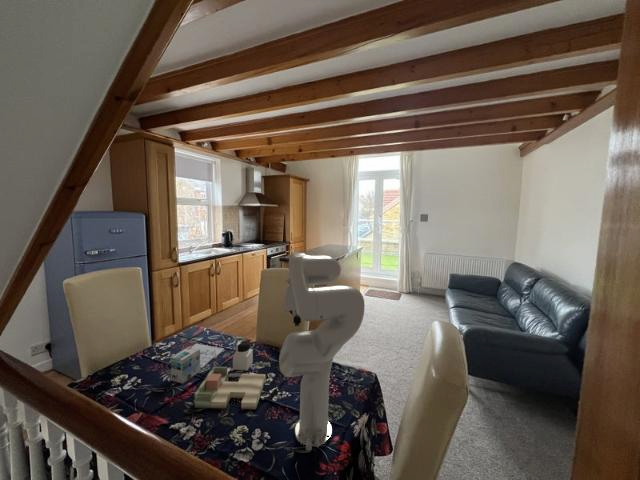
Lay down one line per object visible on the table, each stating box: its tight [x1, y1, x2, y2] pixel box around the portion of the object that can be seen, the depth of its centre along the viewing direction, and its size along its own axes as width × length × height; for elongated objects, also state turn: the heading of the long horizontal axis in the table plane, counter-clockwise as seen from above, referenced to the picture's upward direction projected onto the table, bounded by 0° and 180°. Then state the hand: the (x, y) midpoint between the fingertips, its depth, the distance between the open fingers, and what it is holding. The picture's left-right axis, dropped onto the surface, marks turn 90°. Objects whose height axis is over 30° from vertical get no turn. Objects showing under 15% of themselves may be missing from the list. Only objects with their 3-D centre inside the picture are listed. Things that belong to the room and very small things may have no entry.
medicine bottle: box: [232, 340, 253, 372], centre depth 127 cm, size 7×7×12 cm
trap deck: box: [194, 366, 267, 410], centre depth 108 cm, size 18×23×6 cm
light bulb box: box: [170, 346, 201, 384], centre depth 119 cm, size 11×7×11 cm, turn 161°
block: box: [206, 374, 221, 390], centre depth 108 cm, size 4×4×4 cm
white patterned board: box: [168, 343, 225, 370], centre depth 136 cm, size 19×20×2 cm
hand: (297, 324), depth 112 cm, fingers closed
